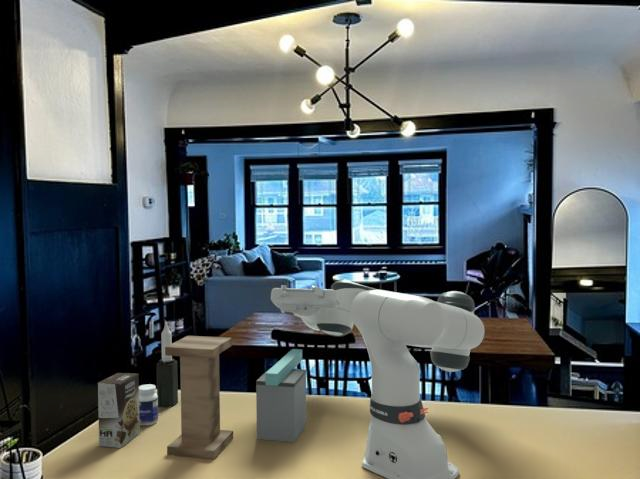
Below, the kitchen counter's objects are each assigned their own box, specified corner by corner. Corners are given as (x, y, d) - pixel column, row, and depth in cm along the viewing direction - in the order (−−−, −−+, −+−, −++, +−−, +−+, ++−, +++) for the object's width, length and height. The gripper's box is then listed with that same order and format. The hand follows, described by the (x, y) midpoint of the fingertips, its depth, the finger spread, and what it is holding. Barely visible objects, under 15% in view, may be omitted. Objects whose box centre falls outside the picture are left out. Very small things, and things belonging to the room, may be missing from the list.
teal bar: (292, 359, 158) (292, 349, 158) (302, 359, 158) (302, 349, 157) (265, 385, 135) (265, 373, 135) (277, 385, 134) (277, 373, 134)
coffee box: (121, 448, 134) (120, 383, 133) (98, 446, 135) (96, 382, 134) (141, 433, 143) (139, 372, 142) (118, 431, 144) (117, 371, 143)
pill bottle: (132, 425, 148) (131, 389, 148) (142, 417, 154) (141, 383, 153) (152, 426, 147) (151, 390, 147) (161, 418, 153) (161, 383, 152)
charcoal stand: (271, 421, 151) (270, 367, 150) (306, 423, 149) (305, 369, 148) (256, 438, 139) (256, 380, 138) (294, 442, 137) (294, 383, 136)
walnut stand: (189, 434, 142) (188, 335, 141) (233, 438, 139) (231, 337, 138) (167, 454, 130) (165, 347, 129) (214, 459, 128) (212, 349, 126)
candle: (155, 406, 162) (154, 323, 161) (163, 400, 167) (162, 320, 166) (172, 407, 162) (170, 323, 160) (179, 401, 167) (177, 320, 165)
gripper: (340, 315, 168) (332, 299, 156) (276, 312, 173) (264, 297, 160) (342, 295, 171) (334, 278, 159) (279, 294, 175) (267, 277, 163)
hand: (298, 288), depth 160 cm, fingers open, 8 cm apart
